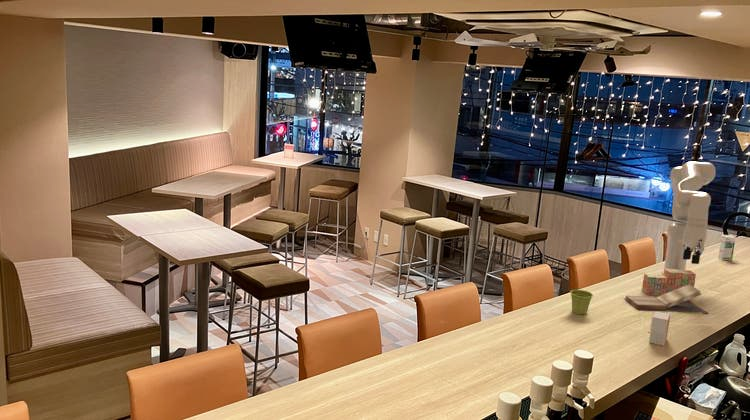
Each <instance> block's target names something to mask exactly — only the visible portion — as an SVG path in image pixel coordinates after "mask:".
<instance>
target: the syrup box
mask: <svg viewBox="0 0 750 420" xmlns="http://www.w3.org/2000/svg"><path fill="white" fill-rule="evenodd" d="M735 243H736V236H734V235H731V234H730V235H729V234H721V238H720V245H719V249H718V250H719V252H718V259H720V258H721V259H722V261H731V260H732V261H733V256H734V249H735ZM721 259H720V260H721Z"/></svg>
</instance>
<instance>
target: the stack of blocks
mask: <svg viewBox="0 0 750 420" xmlns="http://www.w3.org/2000/svg"><path fill="white" fill-rule="evenodd" d="M663 272H664V273H663V275H662V273H647V272H646V273H645V272H644V274H643V281H642V287H641V291H642V292H643V293H644V294H646V295H652V296H654V295H655V296H661V295H663V294H666V293H668V292H671V291H673V290H676V289H679V288H681V287H684V286H686V285H691V286H693V287H694V288H695V283H696V276H697V275H696V273H695V272H693V271H692V270H689V269H688V270H687V269H685V270H681V269H664V268H663Z"/></svg>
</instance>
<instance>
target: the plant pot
mask: <svg viewBox="0 0 750 420" xmlns="http://www.w3.org/2000/svg"><path fill="white" fill-rule="evenodd" d="M569 293H570V296H571V311H572V313H574V314H577V315H587V313H588V311H589V307H590V303H591V300H592V298H593V297H594V294H593V293H592V292H590V291H587V290H584V289H583V290H582V289H572V290H570V292H569Z"/></svg>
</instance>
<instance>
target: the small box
mask: <svg viewBox="0 0 750 420" xmlns="http://www.w3.org/2000/svg"><path fill="white" fill-rule="evenodd" d="M670 319H671V314H670V313H666V312H662V311H654V314H653V315H652V317H651V325H650V330H649V331H650V332H649V337H648V338H649V340H648V343H649V344H653V343H654V345H658V346H662V347H664V346H665V345H666V343H667V340H668V335H669V333H668V332H669V326H670Z"/></svg>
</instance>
